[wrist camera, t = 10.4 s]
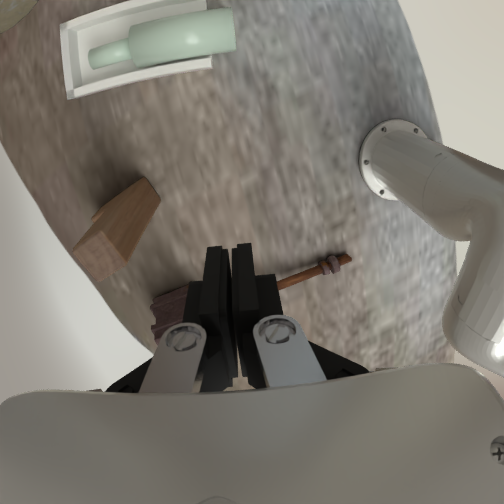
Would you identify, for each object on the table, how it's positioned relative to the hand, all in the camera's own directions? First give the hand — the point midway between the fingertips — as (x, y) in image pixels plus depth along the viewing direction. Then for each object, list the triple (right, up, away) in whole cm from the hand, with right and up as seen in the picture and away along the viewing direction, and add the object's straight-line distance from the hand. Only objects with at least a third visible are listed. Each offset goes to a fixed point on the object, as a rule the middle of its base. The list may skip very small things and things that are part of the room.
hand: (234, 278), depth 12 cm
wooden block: (-17, +8, +32) cm, 38 cm away
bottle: (-1, +27, +19) cm, 33 cm away
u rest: (-15, +29, +21) cm, 38 cm away
